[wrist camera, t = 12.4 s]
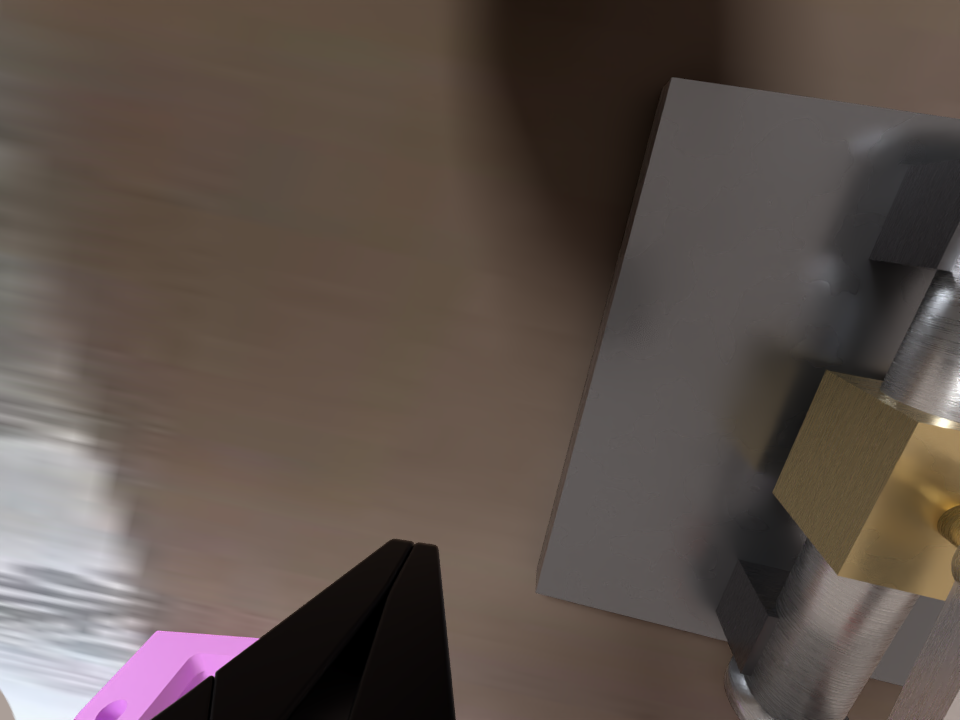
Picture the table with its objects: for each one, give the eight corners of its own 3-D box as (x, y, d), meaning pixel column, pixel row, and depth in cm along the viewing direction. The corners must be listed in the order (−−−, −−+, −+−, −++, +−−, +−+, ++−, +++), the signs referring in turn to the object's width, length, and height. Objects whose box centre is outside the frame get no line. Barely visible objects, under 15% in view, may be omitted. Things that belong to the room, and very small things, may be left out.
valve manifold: (661, 88, 17) (752, -17, 9) (1294, 182, 15) (2070, 149, 7) (536, 570, 24) (528, 737, 16) (953, 674, 22) (1165, 917, 14)
